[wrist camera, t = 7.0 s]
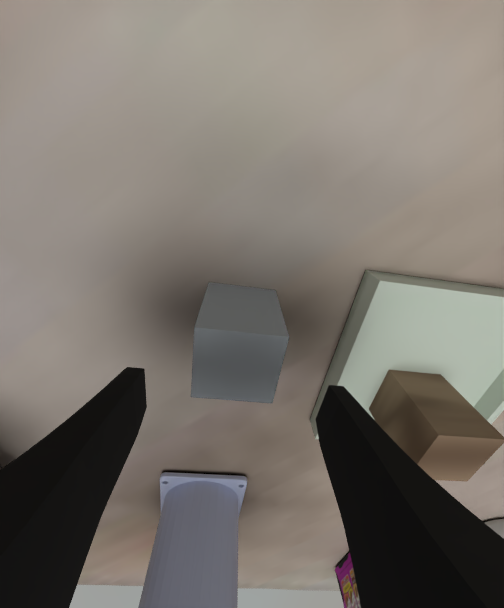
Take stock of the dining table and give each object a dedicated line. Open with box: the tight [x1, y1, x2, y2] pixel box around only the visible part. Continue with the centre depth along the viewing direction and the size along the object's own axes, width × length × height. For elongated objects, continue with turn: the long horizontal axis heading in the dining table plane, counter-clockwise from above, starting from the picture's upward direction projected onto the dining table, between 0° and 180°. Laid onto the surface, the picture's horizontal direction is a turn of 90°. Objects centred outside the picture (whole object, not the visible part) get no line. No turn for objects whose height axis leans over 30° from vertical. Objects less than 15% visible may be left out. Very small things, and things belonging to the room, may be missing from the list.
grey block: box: [191, 282, 289, 403], centre depth 14 cm, size 4×4×5 cm
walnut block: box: [369, 370, 504, 481], centre depth 16 cm, size 4×4×5 cm
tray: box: [310, 270, 504, 439], centre depth 17 cm, size 13×13×2 cm
